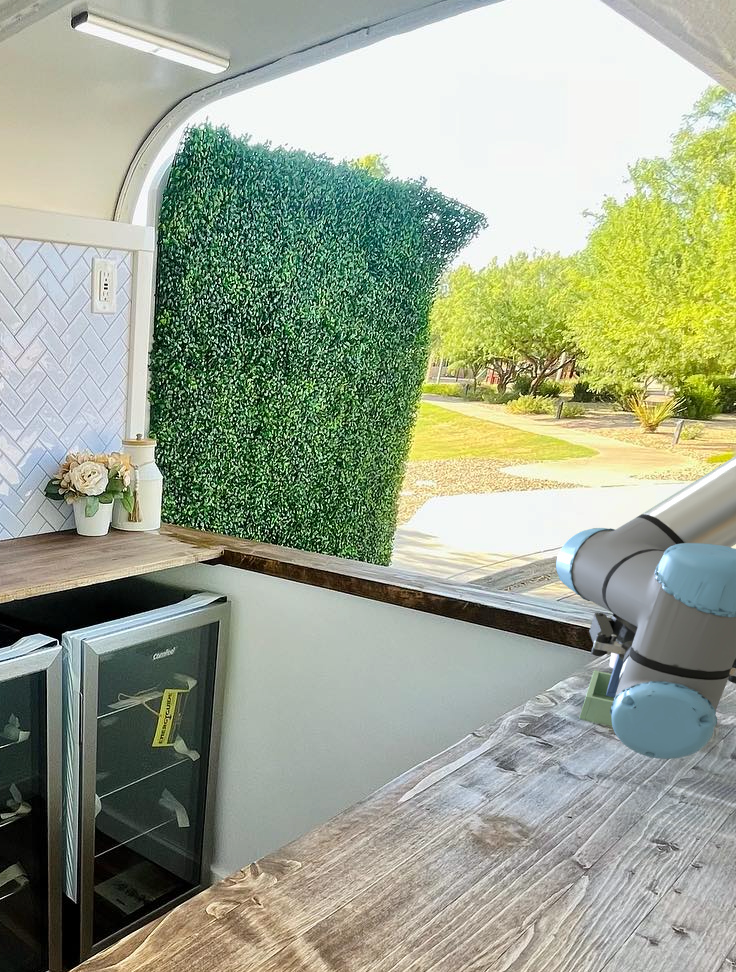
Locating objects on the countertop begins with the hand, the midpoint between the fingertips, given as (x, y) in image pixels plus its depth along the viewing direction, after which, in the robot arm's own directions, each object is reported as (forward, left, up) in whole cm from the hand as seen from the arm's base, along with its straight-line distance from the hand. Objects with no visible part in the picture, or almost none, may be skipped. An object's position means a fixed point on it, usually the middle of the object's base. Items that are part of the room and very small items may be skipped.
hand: (670, 619), depth 98 cm
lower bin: (0, -8, -18) cm, 19 cm away
